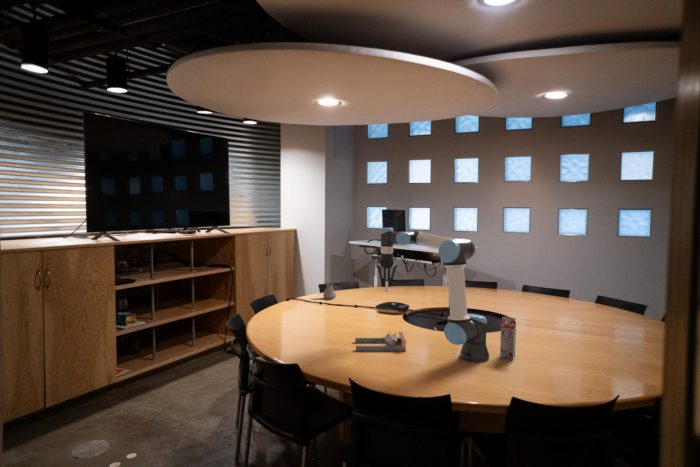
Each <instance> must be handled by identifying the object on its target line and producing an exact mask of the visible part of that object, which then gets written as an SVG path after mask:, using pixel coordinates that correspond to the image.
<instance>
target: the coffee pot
mask: <svg viewBox="0 0 700 467" xmlns="http://www.w3.org/2000/svg"><path fill="white" fill-rule="evenodd" d="M325 285H326V288H325V289H324V291H323V295H322V297H323V298H324V299H325V300H334V299H335V298H336V296H337V294H336V292H335V290H334V289H335V288H337V287H340V286H342V285H344V286H346V283H345V282H343V283H339V284H337V285H336V286H333V285H334V283H330V282H329V283H326V284H325Z"/></svg>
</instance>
